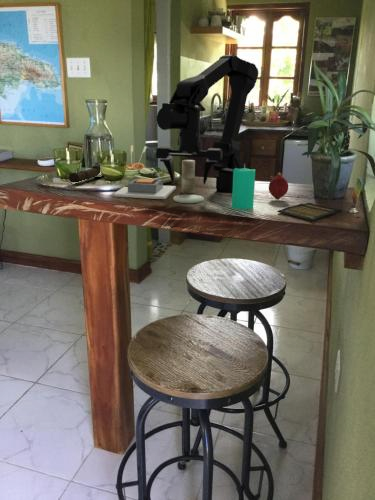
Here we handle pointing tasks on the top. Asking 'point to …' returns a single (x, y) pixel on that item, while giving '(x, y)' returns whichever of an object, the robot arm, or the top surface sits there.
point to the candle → (243, 188)
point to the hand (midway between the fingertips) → (188, 183)
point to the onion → (278, 186)
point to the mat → (188, 198)
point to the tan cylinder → (188, 176)
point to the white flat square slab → (145, 190)
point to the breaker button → (146, 181)
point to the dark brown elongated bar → (84, 174)
